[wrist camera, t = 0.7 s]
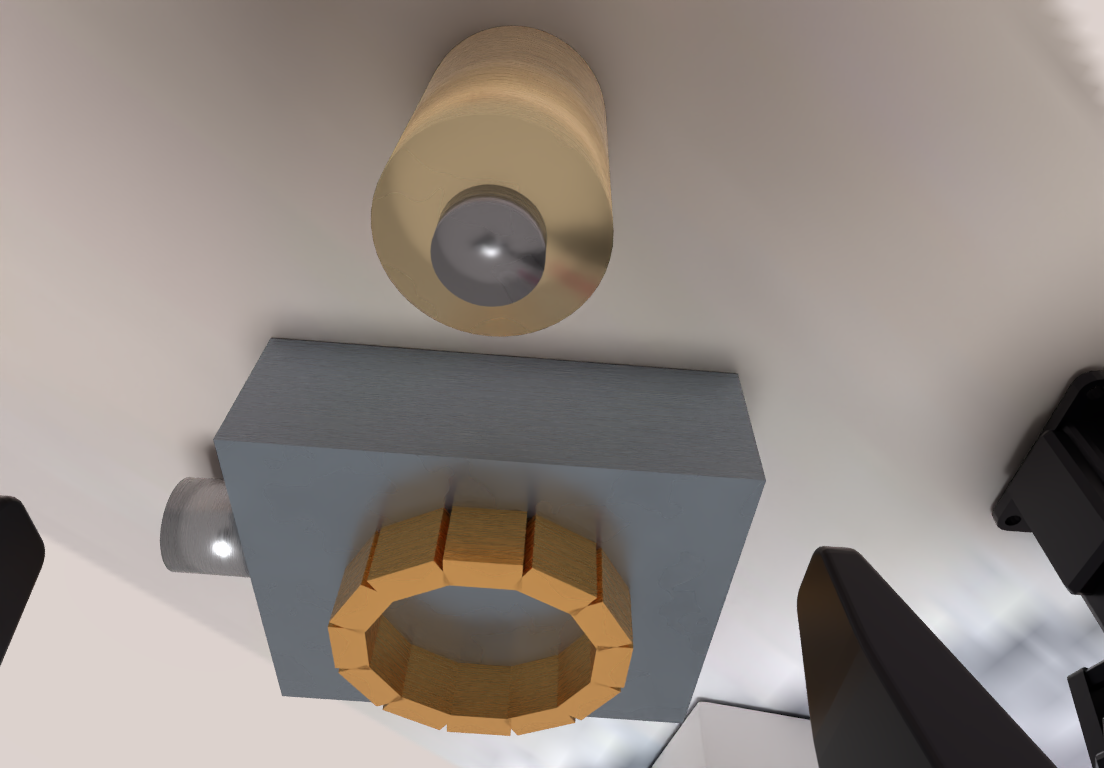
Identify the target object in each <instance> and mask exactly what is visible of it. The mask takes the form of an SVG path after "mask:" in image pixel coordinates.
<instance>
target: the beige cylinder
mask: <svg viewBox="0 0 1104 768" xmlns="http://www.w3.org/2000/svg"><path fill="white" fill-rule="evenodd" d="M371 229H372V235H373V241H374V245H375V248H376V252H377V255H378V257H379V259H380V262H381V264H382V266H383V268H384V270H385V272H386V273H387V275H388V277H389V278H390V280H391V281H392V283H393V284H394V285H395V286H396V288H397V289H398V290H399V292H400V293H401V294H402V295H403V296H404V297H405V298H406V299H407V300H408V301H409V302H410V303H412V304H413V305H414V306H415V307H417V308H418V309H419V310H420V311H422V312H423V313H425V314H426V315H428V316H429V317H431V318H433V319H434V320H436V321H438V322H440V323H442V324H445V325H447V326H449V327H452V328H455V329H457V330H460V331H464V332H468V333H472V334H477V335H485V336H516V335H522V334H527V333H532V332H535V331H538V330H542V329H545V328H547V327H549V326H551V325H554V324H556V323H558V322H560V321H561V320H563V319H565V318H566V317H568V316H569V315H571V314H572V313H573V312H575V311H576V310H577V309H578V308H580V307H581V306H582V305H583V304H584V303H585V302H586V301H587V300H588V298H589V297H590V296H591V295H592V294H593V292H594V291H595V289H596V288H597V287H598V285H599V283H600V282H601V280H602V278H603V276H604V274H605V272H606V269H607V266H608V264H609V261H610V257H611V252H612V247H613V232H614V231H613V216H612V201H611V186H610V171H609V156H608V141H607V126H606V112H605V104H604V99H603V95H602V92H601V89H600V86H599V84H598V81H597V80H596V78H595V76H594V74H593V72H592V70H591V69H590V67H589V66H588V65H587V63H586V62H585V61H584V59H583V58H582V57H581V56H580V55H579V54H578V53H577V52H576V51H575V50H574V49H572V48H571V47H570V46H569V45H568V44H566V43H565V42H563V41H562V40H560V39H558V38H557V37H555V36H553V35H551V34H548V33H546V32H544V31H541V30H537V29H534V28H529V27H523V26H502V27H494V28H491V29H487V30H483V31H481V32H478V33H476V34H474V35H472V36H470V37H468V38H467V39H465V40H463V41H462V42H460V43H459V44H458V45H457V46H456V47H454V48H453V49H452V50H451V51H450V52H449V53H448V54H447V55H446V57H445V58H444V59H443V60H442V62H441V63H440V65H439V66H438V68H437V69H436V71H435V73H434V75H433V77H432V79H431V81H430V83H429V85H428V86H427V88H426V90H425V92H424V94H423V96H422V98H421V100H420V102H419V104H418V106H417V107H416V109H415V111H414V113H413V115H412V117H411V119H410V121H409V123H408V125H407V126H406V128H405V130H404V132H403V134H402V136H401V138H400V140H399V142H398V144H397V146H396V147H395V149H394V151H393V153H392V155H391V157H390V159H389V161H388V163H387V165H386V167H385V168H384V170H383V172H382V175H381V177H380V179H379V181H378V183H377V186H376V190H375V193H374V196H373V202H372V209H371Z"/></svg>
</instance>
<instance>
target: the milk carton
mask: <svg viewBox="0 0 1104 768" xmlns="http://www.w3.org/2000/svg"><path fill="white" fill-rule="evenodd" d="M652 768H819V766H818V762H817V757H816V752H815V747H814V742H813V736H812V729H811V722H810V720H807V719H801V718H795V717H790V716H784V715H778V714H773V713H767V712H761V711H755V710H750V709H744V708H738V707H733V706H727V705H721V704H715V703H709V702H698V704H697V705H696V706H695V708H694V709H693V710H692V712H691V713H690V715H689V716H688V717H687V719H686V720H685V721H684V723H683V724H682V726H681V727H680V728H679V730H678V731H677V733H676V734H675V735H674V737H673V738H672V740H671V741H670V742H669V744H668V745H667V747H666V748H665V749H664V751H663V752H662V753H661V755H660V756H659V758H658V759H657V760H656V762H655V763H654V765H653V766H652Z"/></svg>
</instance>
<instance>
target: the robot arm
mask: <svg viewBox="0 0 1104 768" xmlns="http://www.w3.org/2000/svg"><path fill="white" fill-rule="evenodd" d="M1095 386H1096V387H1095ZM1093 387H1095V388H1094V389H1092V390H1090V389H1091V388H1093ZM1089 390H1090V391H1089ZM992 516H993V519H994V521H995V522H996V524H997V526H998V527H999V528H1000V529H1002V530H1006V531H1019V532H1033V534H1034V536H1035V537H1036V539H1037V541H1038V542H1039V544H1040V546H1041V547H1042V549H1043V551H1044V552H1045V554H1046V556H1047V557H1048V559H1049V561H1050V562H1051V564H1052V566H1053V567H1054V569H1055V571H1056V572H1057V574H1058V575H1059V577H1060V579H1061V580H1062V582H1063V584H1064V585H1065V587H1066V588H1067V590H1068V591H1069V592H1070V593H1071V594H1075V595H1081V596H1082V598H1083V599H1084V601H1085V602H1086V604H1087V606H1088V607H1089V609H1090V611H1091V612H1092V614H1093V615H1094V617H1095V619H1096V620H1097V622H1098V624H1099V625H1100V627H1101V628H1102V630H1103V632H1104V371H1090V372H1087V373H1084V374H1082V375H1081V376H1079V377H1077V378H1076V379H1075V380H1074V382H1073V383H1072V384H1071V386H1070V387H1069V389H1068V391H1067V392H1066V394H1065V396H1064V397H1063V399H1062V400H1061V402H1060V404H1059V405H1058V407H1057V408H1056V410H1055V412H1054V413H1053V415H1052V417H1051V418H1050V420H1049V421H1048V423H1047V425H1046V426H1045V428H1044V429H1043V431H1042V433H1041V434H1040V436H1039V438H1038V439H1037V441H1036V442H1035V444H1034V446H1033V447H1032V449H1031V450H1030V452H1029V454H1028V455H1027V457H1026V459H1025V460H1024V462H1023V463H1022V465H1021V467H1020V468H1019V470H1018V471H1017V473H1016V475H1015V476H1014V478H1013V480H1012V481H1011V483H1010V484H1009V486H1008V488H1007V489H1006V491H1005V492H1004V494H1003V496H1002V497H1001V499H1000V501H999V502H998V504H997V505H996V507H995V509H994V510H993V513H992ZM44 557H45V547H44V543H43V540H42V538H41V537H40V535H39V533H38V531H37V529H36V527H35V526H34V524H33V522H32V520H31V518H30V516H29V514H28V513H27V511H26V509H25V507H24V505H23V504H22V502H21V501H20V500H18V499H17V498H15V497H12V496H1V495H0V665H1V663H2V661H3V658H4V656H5V654H6V651H7V649H8V646H9V644H10V642H11V639H12V637H13V635H14V632H15V630H16V627H17V625H18V622H19V620H20V618H21V615H22V613H23V611H24V608H25V606H26V603H27V601H28V599H29V597H30V594H31V592H32V589H33V587H34V585H35V582H36V580H37V578H38V575H39V573H40V570H41V568H42V565H43V562H44ZM797 613H798V622H799V630H800V638H801V647H802V655H803V663H804V672H805V680H806V689H807V697H808V705H809V714H810V722H811V729H812V736H813V742H814V747H815V752H816V757H817V762H818V766H819V768H1057V767H1056V766H1055V764H1054V763H1053V762H1052V761H1051V760H1050V759H1049V758H1048V757H1047V756H1046V755H1045V754H1044V753H1043V751H1042V750H1041V749H1040V748H1039V747H1038V746H1037V745H1036V744H1035V743H1034V742H1033V741H1032V739H1031V738H1030V737H1029V736H1028V735H1027V734H1026V733H1025V732H1024V731H1023V730H1022V729H1021V728H1020V726H1019V725H1018V724H1017V723H1016V722H1015V721H1014V720H1013V719H1012V718H1011V717H1010V716H1009V715H1008V713H1007V712H1006V711H1005V710H1004V709H1003V708H1002V707H1001V706H1000V705H999V704H998V703H997V702H996V700H995V699H994V698H993V697H992V696H991V695H990V694H989V693H988V692H987V691H986V690H985V688H984V687H983V686H982V685H981V684H980V683H979V682H978V681H977V680H976V679H975V678H974V677H973V675H972V674H971V673H970V672H969V671H968V670H967V669H966V668H965V667H964V666H963V665H962V664H961V662H960V661H959V660H958V659H957V658H956V657H955V656H954V655H953V654H952V653H951V652H950V651H949V649H948V648H947V647H946V646H945V645H944V644H943V643H942V642H941V641H940V640H939V639H938V637H937V636H936V635H935V634H934V633H933V632H932V631H931V630H930V629H929V628H928V627H927V626H926V624H925V623H924V622H923V621H922V620H921V619H920V618H919V617H918V616H917V615H916V614H915V613H914V611H913V610H912V609H911V608H910V607H909V606H908V605H907V604H906V603H905V602H904V601H903V599H902V598H901V597H900V596H899V595H898V594H897V593H896V592H895V591H894V590H893V589H892V588H891V586H890V585H889V584H888V583H887V582H886V581H885V580H884V579H883V578H882V577H881V576H880V575H879V573H878V572H877V571H876V570H875V569H874V568H873V567H872V566H871V565H870V564H869V563H868V562H867V560H866V559H865V558H864V557H863V556H862V555H861V554H860V553H859V552H857V551H856V550H854V549H852V548H845V547H829V546H822V547H819V548H817V549H816V550H815V552H814V553H813V555H812V558H811V560H810V563H809V565H808V568H807V571H806V573H805V576H804V578H803V581H802V583H801V586H800V589H799V592H798V597H797ZM1067 680H1068V683H1069V687H1070V690H1071V694H1072V697H1073V701H1074V704H1075V708H1076V711H1077V715H1078V718H1079V722H1080V725H1081V729H1082V732H1083V736H1084V739H1085V743H1086V746H1087V750H1088V753H1089V757H1090V760H1091V764H1092V767H1093V768H1104V660H1103V661H1101V662H1099V663H1097V664H1096V665H1094V666H1092V667H1090V668H1089V669H1088V668H1086V667H1083V668H1081V669H1080V670H1078V671H1076V672H1074V673H1073V674H1071V675H1069V676H1068V677H1067Z"/></svg>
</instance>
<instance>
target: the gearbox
mask: <svg viewBox="0 0 1104 768" xmlns="http://www.w3.org/2000/svg"><path fill="white" fill-rule="evenodd" d="M213 441H214V444H215V448H216V452H217V455H218V459H219V463H220V467H221V470H222V474H223V478H224V480H220V479H206V478H193V477H188V478H185V479H183V480H182V481H180V482H179V483H178V484H177V486H176V487H175V488H174V490H173V491H172V493H171V495H170V497H169V500H168V502H167V505H166V508H165V511H164V514H163V519H162V524H161V533H160V548H161V555H162V559H163V562H164V564H165V566H166V567H167V569H169V570H170V571H172V572H181V573H195V574H209V575H223V576H238V577H250V578H251V582H252V585H253V589H254V593H255V597H256V600H257V604H258V608H259V611H260V615H261V619H262V623H263V626H264V630H265V634H266V637H267V641H268V645H269V649H270V652H271V656H272V660H273V663H274V667H275V671H276V675H277V678H278V682H279V686H280V689H281V693H282V696H291V697H306V698H320V699H334V700H349V701H364V702H372V703H373V704H375V705H376V706H380V705H383V710H385V711H388V712H391V713H393V714H396V715H399V716H402V717H404V718H407V719H410V720H413V721H416V722H418V723H421V724H424V725H427V726H430V727H432V728H435V729H438V730H440V729H441V728H443V727H444V726H445V725H446V724H447V732H461V733H475V734H490V735H505V736H510V733H511V729H512V730H513V731H514V732H515V733H516V734H517V735H522V734H526V733H531V732H535V731H540V730H544V729H549V728H554V727H558V726H563V725H567V724H572V723H575V718H577V719H579V720H582V719H584V718H585V717H599V718H613V719H628V720H643V721H657V722H672V723H683V722H684V719H685V716H686V713H687V710H688V707H689V704H690V701H691V698H692V695H693V692H694V689H695V687H696V684H697V681H698V678H699V675H700V672H701V669H702V666H703V663H704V660H705V657H706V654H707V651H708V649H709V646H710V643H711V640H712V637H713V634H714V631H715V628H716V625H717V622H718V619H719V616H720V613H721V610H722V608H723V605H724V602H725V599H726V596H727V593H728V590H729V587H730V584H731V581H732V578H733V575H734V572H735V570H736V567H737V564H738V561H739V558H740V555H741V552H742V549H743V546H744V543H745V540H746V537H747V534H748V531H749V529H750V526H751V523H752V520H753V517H754V514H755V511H756V508H757V505H758V502H759V499H760V496H761V493H762V491H763V488H764V485H765V482H766V479H765V475H764V471H763V468H762V464H761V460H760V456H759V452H758V449H757V445H756V441H755V437H754V434H753V430H752V426H751V422H750V418H749V415H748V411H747V407H746V403H745V399H744V396H743V392H742V388H741V384H740V380H739V377H738V374H731V373H718V372H705V371H692V370H679V369H666V368H653V367H640V366H627V365H614V364H601V363H588V362H575V361H562V360H549V359H536V358H523V357H510V356H497V355H484V354H471V353H458V352H444V351H431V350H418V349H405V348H392V347H379V346H366V345H353V344H340V343H327V342H314V341H301V340H288V339H275V338H271V339H270V340H269V342H268V344H267V346H266V347H265V349H264V351H263V353H262V355H261V356H260V358H259V360H258V362H257V363H256V365H255V367H254V369H253V370H252V372H251V374H250V376H249V377H248V379H247V381H246V383H245V384H244V386H243V388H242V390H241V392H240V393H239V395H238V397H237V399H236V400H235V402H234V404H233V406H232V407H231V409H230V411H229V413H228V414H227V416H226V418H225V420H224V421H223V423H222V425H221V427H220V429H219V430H218V432H217V434H216V436H215V437H214V439H213Z"/></svg>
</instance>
